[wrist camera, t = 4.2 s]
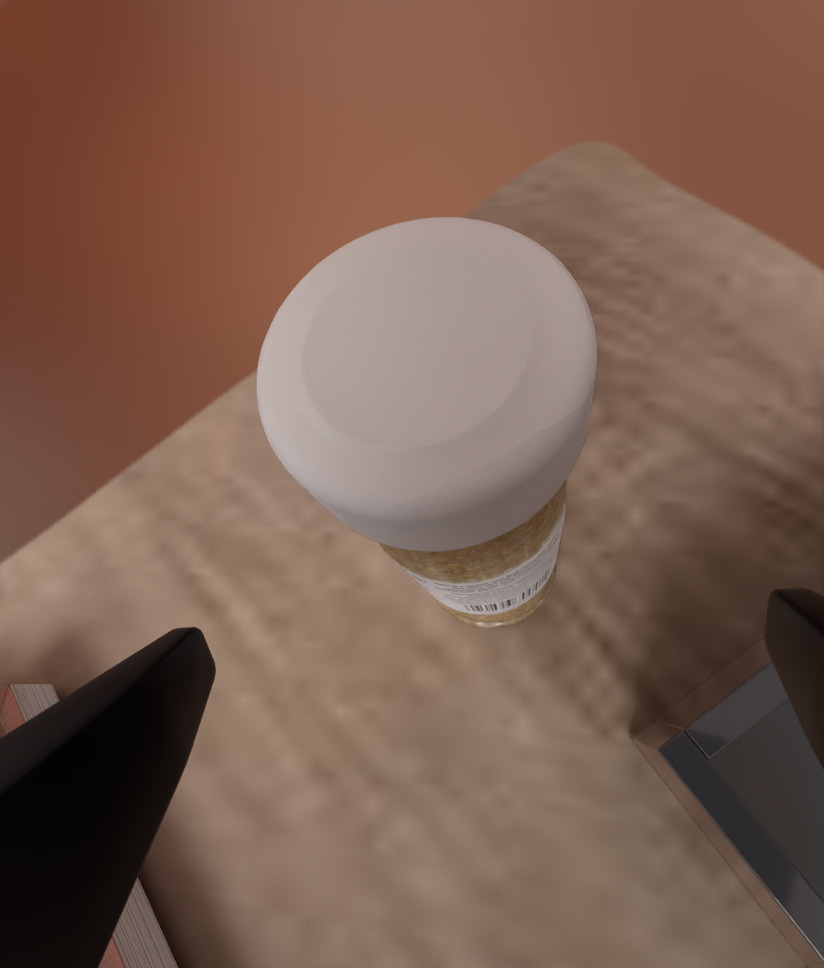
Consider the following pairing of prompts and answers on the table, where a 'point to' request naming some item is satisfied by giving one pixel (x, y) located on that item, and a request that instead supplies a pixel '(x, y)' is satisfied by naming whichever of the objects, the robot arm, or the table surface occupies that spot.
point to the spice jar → (438, 404)
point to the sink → (750, 788)
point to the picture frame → (137, 937)
